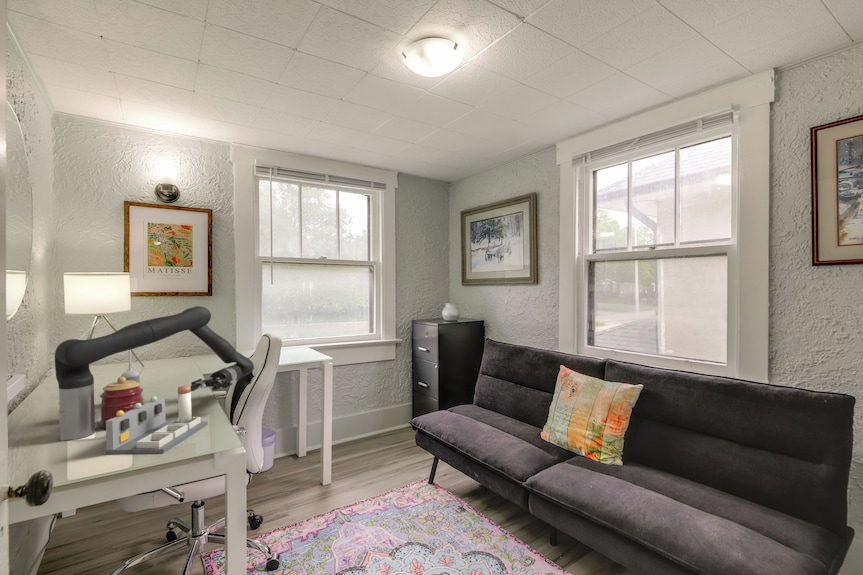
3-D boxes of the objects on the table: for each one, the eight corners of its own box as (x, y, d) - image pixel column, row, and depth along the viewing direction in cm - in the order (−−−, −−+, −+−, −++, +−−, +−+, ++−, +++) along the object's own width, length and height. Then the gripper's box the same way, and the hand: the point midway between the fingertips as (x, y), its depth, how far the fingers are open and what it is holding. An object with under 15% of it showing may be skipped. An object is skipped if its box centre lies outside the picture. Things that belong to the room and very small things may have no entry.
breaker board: (163, 453, 127) (162, 414, 127) (105, 453, 127) (104, 415, 127) (207, 424, 152) (206, 392, 152) (158, 425, 152) (158, 392, 152)
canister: (120, 431, 146) (119, 381, 146) (91, 428, 149) (89, 380, 149) (152, 418, 159) (151, 373, 159) (124, 417, 162) (123, 372, 162)
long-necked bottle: (131, 406, 175) (129, 348, 174) (114, 406, 176) (112, 348, 176) (147, 401, 183) (145, 345, 183) (130, 400, 184) (129, 345, 184)
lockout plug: (180, 428, 144) (179, 389, 144) (177, 426, 147) (176, 387, 147) (193, 425, 147) (192, 386, 147) (190, 423, 150) (188, 384, 150)
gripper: (206, 369, 175) (183, 379, 158) (240, 368, 175) (220, 378, 158) (207, 386, 175) (184, 398, 159) (240, 386, 175) (221, 397, 159)
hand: (202, 388), depth 158 cm, fingers open, 8 cm apart
